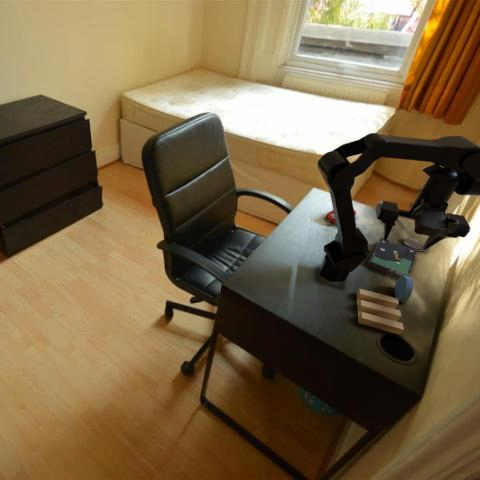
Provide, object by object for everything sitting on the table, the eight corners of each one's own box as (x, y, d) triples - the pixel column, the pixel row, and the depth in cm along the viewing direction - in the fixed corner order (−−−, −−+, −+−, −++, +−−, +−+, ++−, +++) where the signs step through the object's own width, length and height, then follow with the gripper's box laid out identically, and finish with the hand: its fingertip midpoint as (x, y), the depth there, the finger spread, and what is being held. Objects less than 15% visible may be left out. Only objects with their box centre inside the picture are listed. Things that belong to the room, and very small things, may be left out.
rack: (357, 325, 83) (362, 317, 81) (355, 295, 90) (359, 288, 88) (398, 337, 80) (404, 329, 78) (392, 305, 87) (397, 298, 86)
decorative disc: (412, 252, 104) (413, 250, 103) (397, 240, 109) (399, 238, 108) (430, 250, 105) (431, 247, 104) (414, 238, 110) (416, 235, 109)
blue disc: (392, 286, 92) (404, 270, 88) (398, 288, 92) (411, 271, 87) (394, 306, 88) (407, 289, 83) (401, 307, 87) (415, 291, 82)
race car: (343, 209, 123) (347, 200, 121) (357, 216, 119) (361, 207, 117) (320, 219, 118) (324, 210, 115) (334, 227, 114) (338, 218, 111)
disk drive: (376, 243, 108) (365, 267, 99) (380, 236, 106) (369, 260, 97) (413, 257, 103) (405, 283, 94) (417, 250, 101) (409, 276, 92)
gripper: (395, 201, 74) (366, 254, 84) (497, 220, 69) (453, 274, 78) (389, 179, 82) (363, 229, 92) (479, 194, 77) (442, 246, 86)
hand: (403, 244), depth 87 cm, fingers open, 9 cm apart
